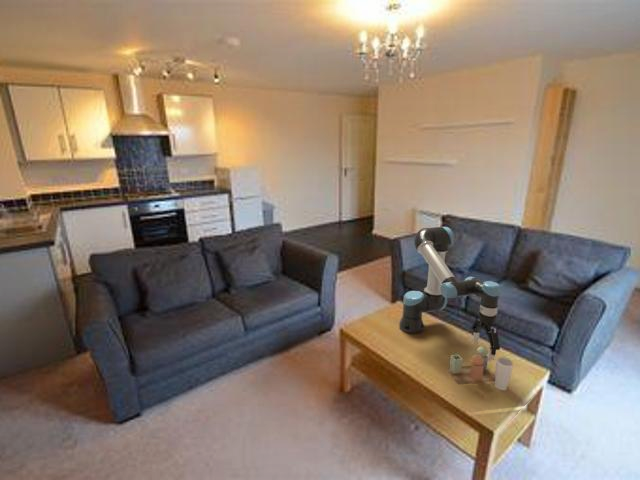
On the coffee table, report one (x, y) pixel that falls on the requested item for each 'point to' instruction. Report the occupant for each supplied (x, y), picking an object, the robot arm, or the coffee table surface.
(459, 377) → the board
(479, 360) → the terracotta ball
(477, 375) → the terracotta tube
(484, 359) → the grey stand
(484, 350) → the sage ball
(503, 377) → the drinking glass
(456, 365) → the sage tube
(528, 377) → the coffee table surface
